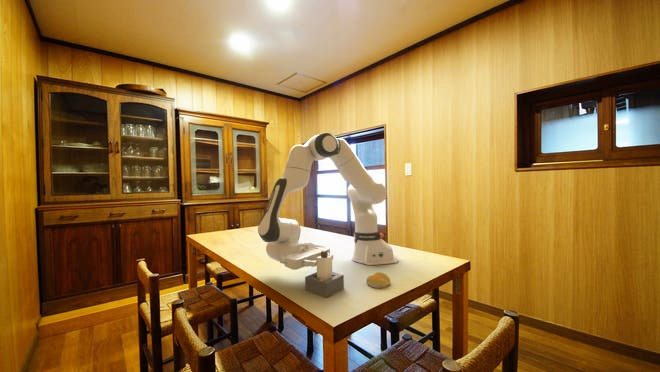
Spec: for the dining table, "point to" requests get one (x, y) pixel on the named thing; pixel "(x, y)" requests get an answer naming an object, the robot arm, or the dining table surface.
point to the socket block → (324, 284)
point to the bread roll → (378, 280)
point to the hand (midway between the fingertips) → (324, 260)
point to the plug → (324, 266)
